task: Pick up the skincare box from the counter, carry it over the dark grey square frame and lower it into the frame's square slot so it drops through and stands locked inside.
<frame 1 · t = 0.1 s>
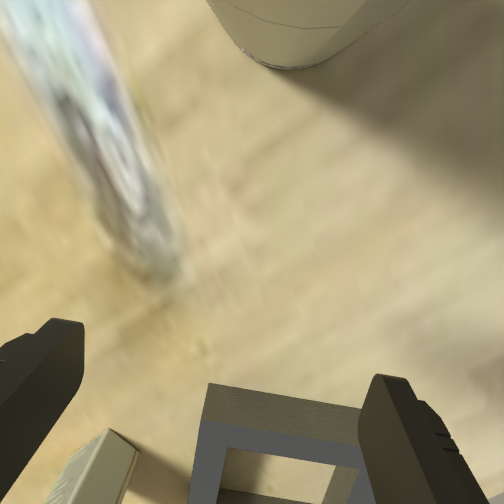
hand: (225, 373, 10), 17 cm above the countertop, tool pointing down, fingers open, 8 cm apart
dark grey square frame: (279, 460, 36), on the countertop
skincare box: (106, 450, 37), on the countertop
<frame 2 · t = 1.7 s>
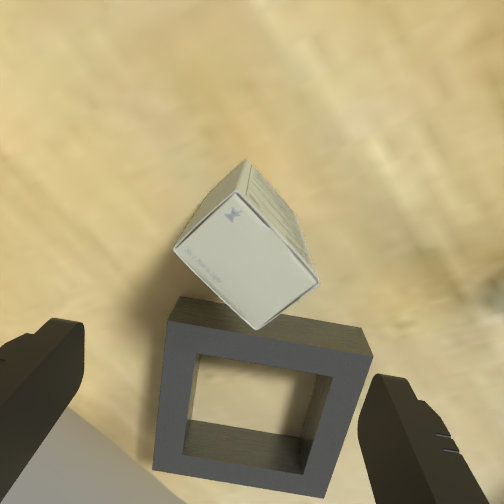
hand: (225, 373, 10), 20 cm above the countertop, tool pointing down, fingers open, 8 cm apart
dark grey square frame: (255, 385, 35), on the countertop
skincare box: (254, 205, 29), on the countertop
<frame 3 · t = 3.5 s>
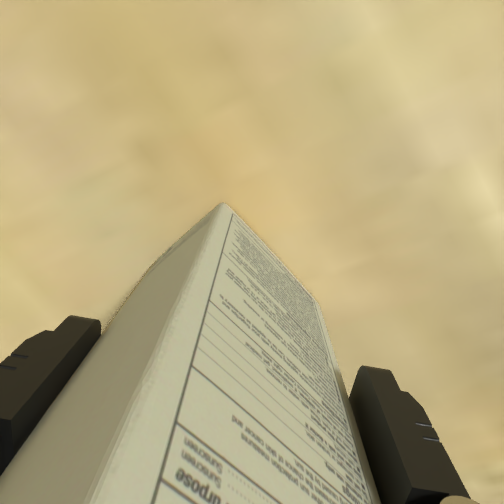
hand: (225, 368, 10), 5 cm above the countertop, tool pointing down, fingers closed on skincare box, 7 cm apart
skincare box: (240, 284, 15), on the countertop, touching gripper
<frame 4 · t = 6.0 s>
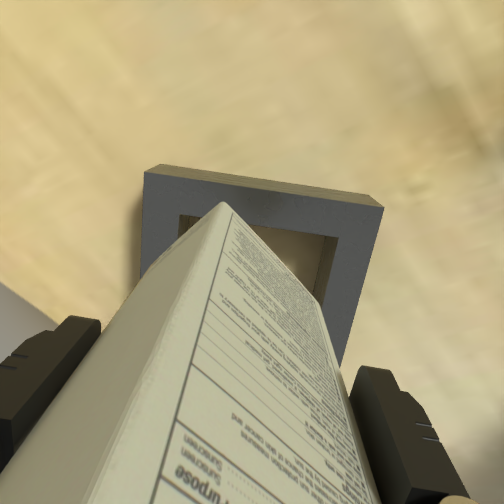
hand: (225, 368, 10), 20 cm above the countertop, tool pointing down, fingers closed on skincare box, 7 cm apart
dark grey square frame: (250, 274, 31), on the countertop
skincare box: (240, 283, 15), point 14 cm above the countertop, touching gripper
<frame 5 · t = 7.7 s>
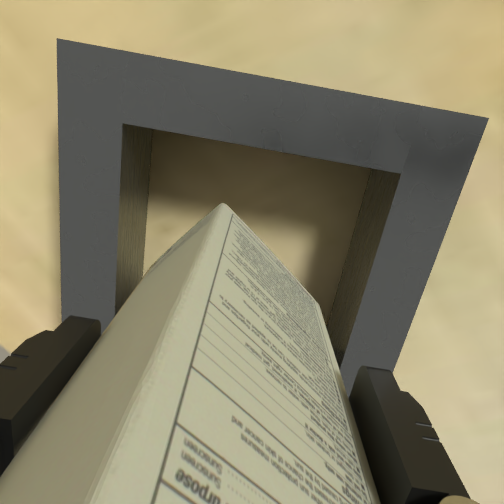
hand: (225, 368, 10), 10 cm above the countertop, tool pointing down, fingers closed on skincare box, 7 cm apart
dark grey square frame: (246, 245, 20), on the countertop
skincare box: (240, 284, 15), point 5 cm above the countertop, touching gripper
when the fingers open (7 cm above the countertop, at t = 9.0 s): skincare box drops 1 cm, resting in dark grey square frame.
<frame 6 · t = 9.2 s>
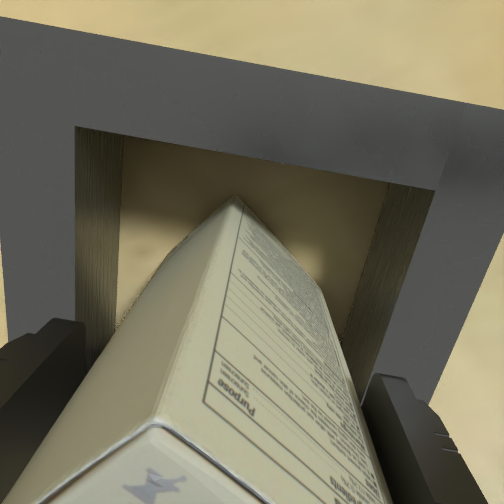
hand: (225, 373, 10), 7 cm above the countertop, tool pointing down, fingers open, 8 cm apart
dark grey square frame: (238, 270, 17), on the countertop
skincare box: (249, 270, 17), resting in dark grey square frame, touching gripper
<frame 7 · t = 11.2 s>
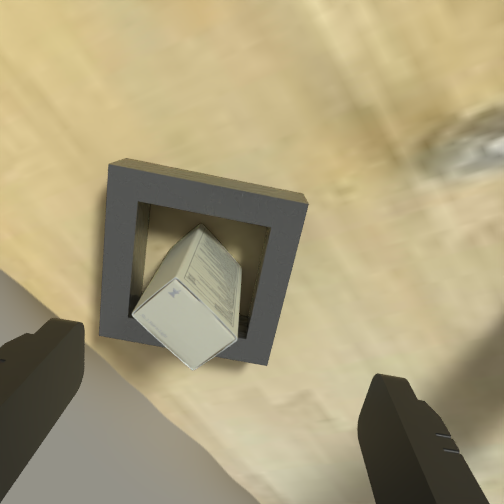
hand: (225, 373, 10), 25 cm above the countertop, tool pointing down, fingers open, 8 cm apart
dark grey square frame: (202, 257, 35), on the countertop
skincare box: (208, 257, 36), resting in dark grey square frame
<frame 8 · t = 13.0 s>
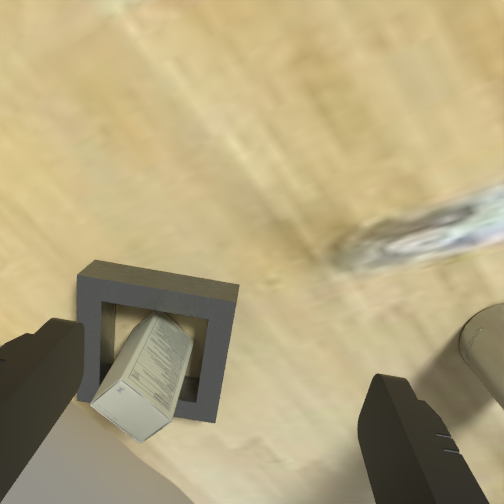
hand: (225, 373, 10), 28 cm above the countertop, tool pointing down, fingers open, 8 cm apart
dark grey square frame: (161, 333, 43), on the countertop
skincare box: (166, 333, 43), resting in dark grey square frame
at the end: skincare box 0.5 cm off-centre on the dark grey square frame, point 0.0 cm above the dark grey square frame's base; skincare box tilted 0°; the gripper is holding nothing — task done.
